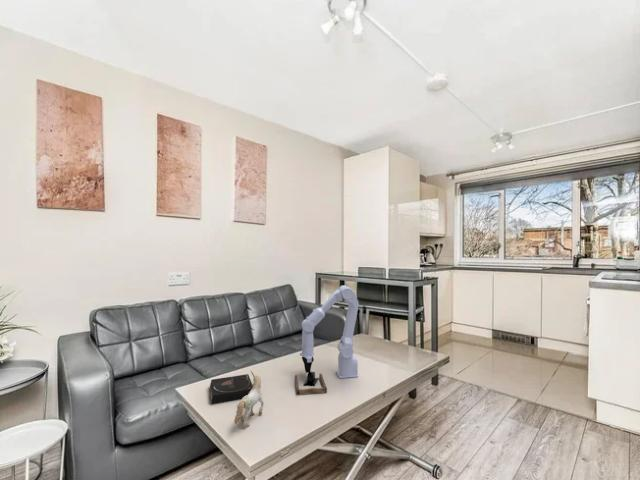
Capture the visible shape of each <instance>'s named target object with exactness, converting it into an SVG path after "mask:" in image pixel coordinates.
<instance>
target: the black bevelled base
mask: <svg viewBox="0 0 640 480" xmlns="http://www.w3.org/2000/svg"><path fill="white" fill-rule="evenodd" d="M306 374H307V376H306V380H305V381H304V383H303V386H304V387H305V386H306V387H313V388H316V387H315V386H316V385H317V383H318V380H320V378H319V377H316V372H315V371H310V372H309V373H306Z"/></svg>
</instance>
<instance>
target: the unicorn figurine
mask: <svg viewBox="0 0 640 480" xmlns="http://www.w3.org/2000/svg"><path fill="white" fill-rule="evenodd" d="M250 373H251V375H252V376H253V377H252V379H253V383H252V385H253V388H252V390H251V391H250V392H249V394H248V395H246V396H244V397H243V398H242V399H241V400H240V401H239V402H238V405H237V406H236V407H237V409H236V411H235V413H236V414H235V416H234V420H233V422H234V425H235V427H236V428H237V426H238V424H239V423H240V422H241V423H243V425H244V427H245V428H249V427H250V424H249V422H248V416H251V417H252V416H254V415H255V412H254V407H255V405H257V403H258V402H260V407H259V409H258V411H259V412H258V416H262V414H263V410H264V403H265V402H264V400H263V398H262V397H263V392H262V390H261V388H262V381H261V376H260V374H256V375H255V374H254V372H253V371H252V370H250ZM244 410H245V414H243V413H244Z"/></svg>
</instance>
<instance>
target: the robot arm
mask: <svg viewBox="0 0 640 480" xmlns="http://www.w3.org/2000/svg"><path fill="white" fill-rule="evenodd" d="M357 297H358V296H357V295H356V292H355V291H354V290H353V289H352V288H351V287H349V286H348V285H340V286H339V287H338V288H337V289H336V290H334V292H333V293H332V294H331V295H330V297H328V299H326V301H325V302H324V303H323V304H322V305H321V306H320V307H316V308H314V309H313V310H312V312H311V313H310V314H309V315H307V316H306V317H305V319H304V320H302V322H301V324H300V325H301V328H302V331H301V352H300V353H299V356H301V359H302V362H303V364H304V365H303V366H304V371H305V374H308V373H309V372H311V369H312V364H313V363H314V360H315V359H314V355H315V353H314V331H315V327H316V326H317V325H318V324H319V323H320V322H321V321H322V320H323V319H324V318H325V316H326V312H327V311H329V310H330V309H331V307H332V306H333V305H335V304H336V303H337V302H342V301H343V300H344V301H345V302H346V304H347V305H348V306H347V310H346V311H347V312H346V317H345V321H344V328H343V330H342V331H343V332H342V336H341V337H340V341H339V342H338V344H337V350H338V352H339V353H338V357H337V364H338V365H337V366H338V367H337V368H338V370H336V371H335V372H336V374H337V376H338V378H340V379H344V378H345V379H346V378H358V377H359V373H358V369H359V368H358V366H359V364H358V358H357V356H356V355H354V347H353V345H354V343H353V341H354V340H353V339H354V332H355V326H356V321H357V317H358V309H359V299H358V298H357Z"/></svg>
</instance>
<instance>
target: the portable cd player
mask: <svg viewBox="0 0 640 480" xmlns="http://www.w3.org/2000/svg"><path fill="white" fill-rule="evenodd" d="M252 384H253V383H252V380H251V378H250V375H249V373H246V374H240V375H233V376H226V377H220V378H212V379H211V380H210V384H209V391H210V392H209V393H210V403H211V405H218V404H222V403H229V402H234V401H239V400H240V401H241V399H242V398H243V397H244V396H246V395H248V394H249V392H250V391H251V390H252V388H253V385H252Z"/></svg>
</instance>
